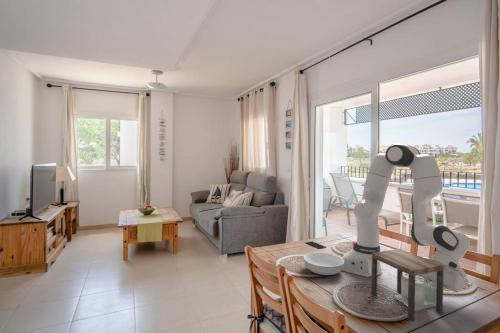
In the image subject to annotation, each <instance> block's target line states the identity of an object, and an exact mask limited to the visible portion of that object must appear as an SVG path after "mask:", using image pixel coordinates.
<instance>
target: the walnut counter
mask: <svg viewBox="0 0 500 333" xmlns="http://www.w3.org/2000/svg"><path fill="white" fill-rule="evenodd" d="M423 257H424V256H421V255H417V254H414V253H413V252H409V251H406V250H404V249H401V248H397V249H390V250H384V251H380V252H374V253H372V276H371V291H370V292H371V295H373V296H378V289H377V288H378V275H377V260H379V261H380V263H383V264H385V265H388V266H390V267H392V268H394V269H396V272H397V273H396V277H397V278H396V291H397V292H399V293H401V278H402V276H404V275H403V274H404V273H405V274H407V275H408V276H409V279H408V307H407V320H409V321H410V322H414V321H415V312H416V311H415V279H416V276H418V275H420V274H426V273H431V272H437V287H436V306H435V313H436V314H439V315H442V314H443V312H444V311H443V308H444V306H443V305H444V287H443V268H444V265H442V264H439V263H436V262H434V261H431V260H428V259H429V258H428V259H426V258H427V257H426V258H423ZM373 296H372V297H373Z"/></svg>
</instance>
